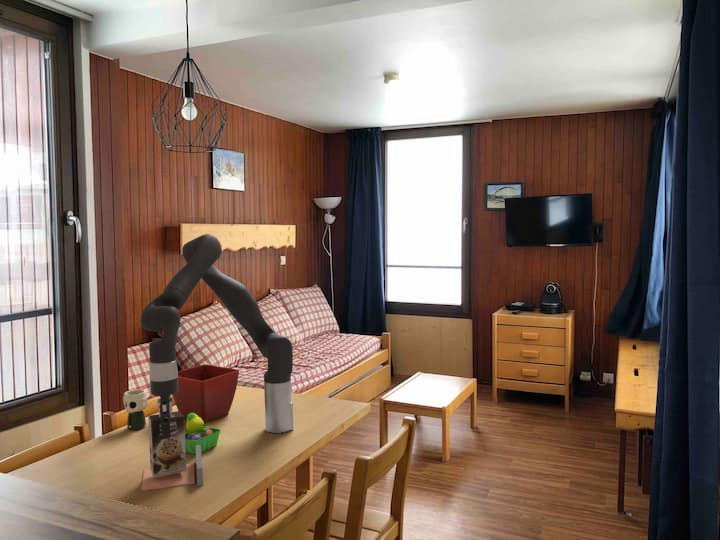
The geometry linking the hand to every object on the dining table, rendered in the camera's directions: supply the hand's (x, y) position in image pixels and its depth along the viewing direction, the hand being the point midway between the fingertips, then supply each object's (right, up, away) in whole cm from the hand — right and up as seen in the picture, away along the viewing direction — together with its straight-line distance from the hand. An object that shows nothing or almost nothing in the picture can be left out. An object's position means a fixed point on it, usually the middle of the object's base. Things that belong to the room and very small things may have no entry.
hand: (166, 433), depth 169 cm
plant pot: (-3, -9, +55) cm, 56 cm away
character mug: (-25, -10, +43) cm, 51 cm away
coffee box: (0, -11, +1) cm, 11 cm away
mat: (0, -13, +1) cm, 13 cm away
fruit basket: (+3, -11, +23) cm, 25 cm away
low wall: (+8, -12, +3) cm, 15 cm away
